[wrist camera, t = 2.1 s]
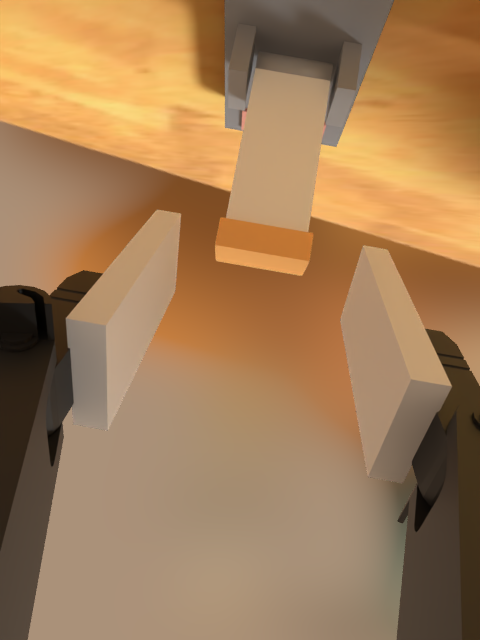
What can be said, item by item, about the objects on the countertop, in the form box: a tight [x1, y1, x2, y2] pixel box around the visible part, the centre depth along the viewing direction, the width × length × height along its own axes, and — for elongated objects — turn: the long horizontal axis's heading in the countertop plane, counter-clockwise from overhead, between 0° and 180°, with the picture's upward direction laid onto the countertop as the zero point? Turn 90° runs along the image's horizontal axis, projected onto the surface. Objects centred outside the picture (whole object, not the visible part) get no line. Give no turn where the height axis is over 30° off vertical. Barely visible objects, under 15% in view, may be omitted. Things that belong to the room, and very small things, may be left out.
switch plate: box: [225, 0, 394, 147], centre depth 31 cm, size 18×10×7 cm, turn 178°
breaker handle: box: [215, 51, 333, 276], centre depth 29 cm, size 3×6×15 cm, turn 88°
